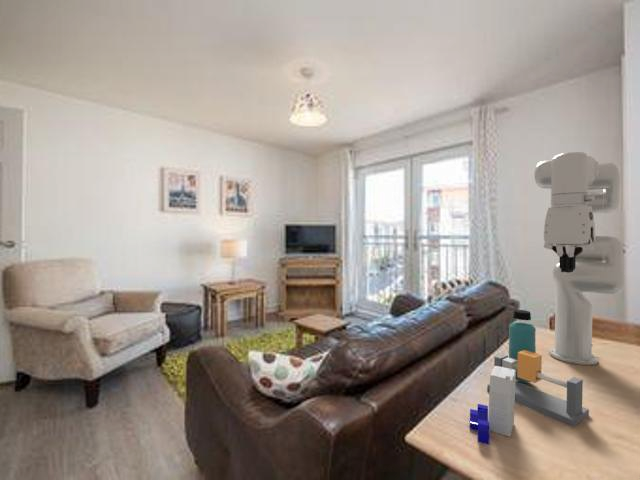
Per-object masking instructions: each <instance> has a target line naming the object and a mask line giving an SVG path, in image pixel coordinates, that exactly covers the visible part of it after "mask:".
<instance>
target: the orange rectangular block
mask: <svg viewBox="0 0 640 480" xmlns="http://www.w3.org/2000/svg"><path fill="white" fill-rule="evenodd" d="M542 357H543V355H542V354H539V353H537V352H536V353H533V352H530V351H527V350H523V351H520V352H518V366H517V377H519V378H522V379H524V380H527V381H530V382H529V383H533V384H536V383H538V382H540V381H542V379H540V378H537V377H536V372H538V373H541V374H542V366H543V365H542V363H543V362H542Z"/></svg>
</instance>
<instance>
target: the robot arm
mask: <svg viewBox="0 0 640 480" xmlns="http://www.w3.org/2000/svg"><path fill="white" fill-rule="evenodd" d="M533 173H534V175H533V176H534V181H535V183H536V185H537V186H538V187H539V188H541V189H550V207H548V208H547V211H546V215H545V219H544V228H543V241H544V243H543V244H544V245H543V247H544V248H545V249H548V250H550V251H553V252H554V253H555V254H556V255H557V256H558V257H559V262H558V263H556V264H555V265H554V267H553V269H552V278H553V283H554V285H553V286H554V293H555V309H554V310H555V312H554V313H555V315H554V316H555V320H554V321H555V323H554V329H555V330H554V347H550V348H549V349H548V353H549V356H550V357H553V358H554V359H556V360H560V361H561V362H565V363H569V364H575V365H581V366H582V365H583V366H593V365H596V364H598V362H599V359H598V356H596V355H594V354H593V353H592V350H593V349H592V348H593V343H592V342H593V339H592V337H593V306H592V303H591V301H590V300H589V299H588V298H587V297H586V296H585V295H584V294H583V293H597V294H604V295H605V294H608V295H616V294H619V293H621V292H622V291H623V289H624V286H625V267H624V266H625V263H624V262H625V259H624V247H623V243H622V242H621V240H620V239H619V238H618V237H615V236H608V235H607V236H606V235H596V226H595V224H596V223H595V216H594V214H610V213H613V212H615V211H617V209H618V207H619V204H620V184H621V183H620V182H621V181H620V180H621V179H620V178H621V177H620V170H619V168H618V166H617V165H616V164H615V163H613V162H602V163H599V161H597V160H596V159H595V158H594V157H593V156H591V155H588V154H587V153H585V152H582V151H570V152H563V153H560V154H557V155H555V156H554V157H553V158H551V159H550V160H549V159H547V160H543V161H540V162H538V163H537V164H536V166H535V169H534V172H533Z"/></svg>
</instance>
